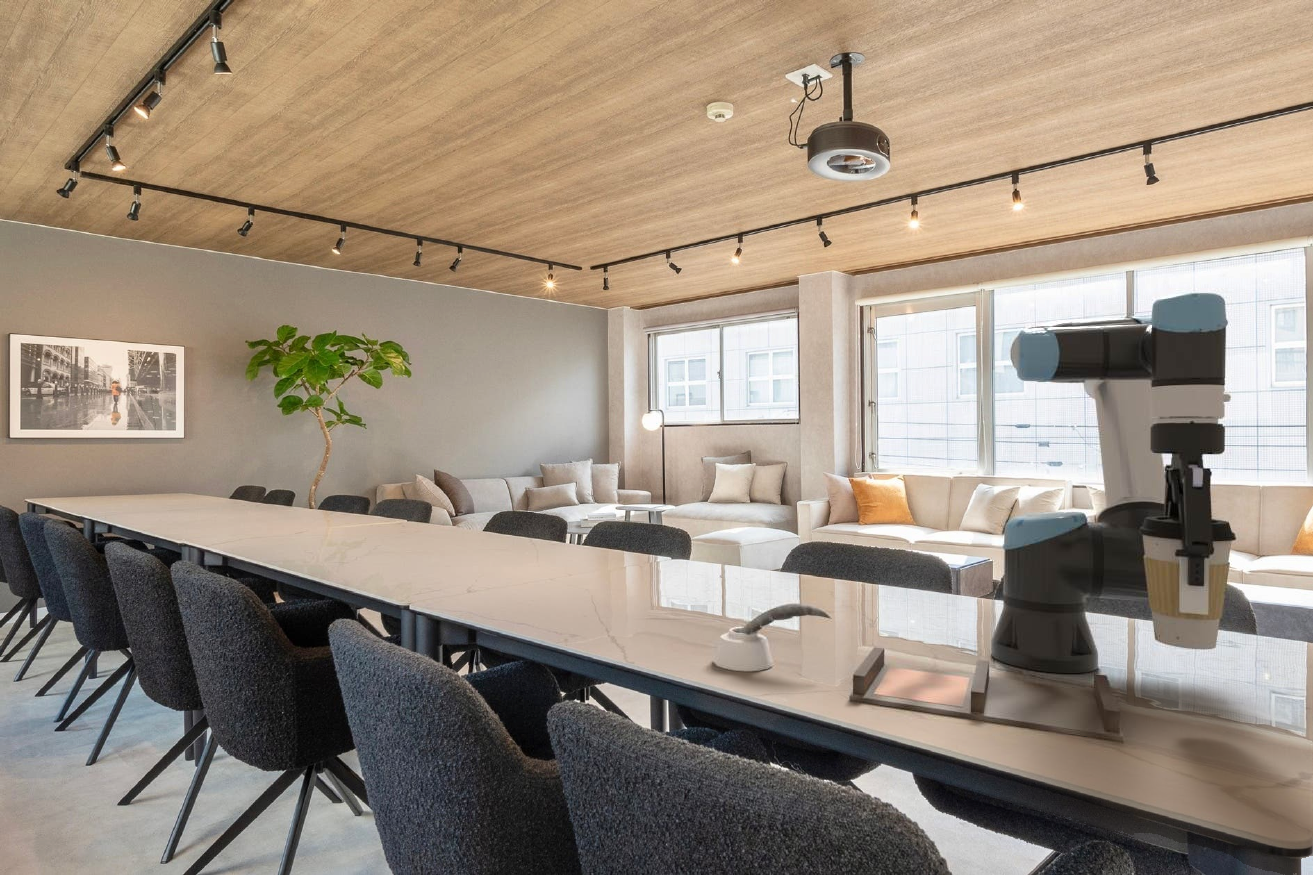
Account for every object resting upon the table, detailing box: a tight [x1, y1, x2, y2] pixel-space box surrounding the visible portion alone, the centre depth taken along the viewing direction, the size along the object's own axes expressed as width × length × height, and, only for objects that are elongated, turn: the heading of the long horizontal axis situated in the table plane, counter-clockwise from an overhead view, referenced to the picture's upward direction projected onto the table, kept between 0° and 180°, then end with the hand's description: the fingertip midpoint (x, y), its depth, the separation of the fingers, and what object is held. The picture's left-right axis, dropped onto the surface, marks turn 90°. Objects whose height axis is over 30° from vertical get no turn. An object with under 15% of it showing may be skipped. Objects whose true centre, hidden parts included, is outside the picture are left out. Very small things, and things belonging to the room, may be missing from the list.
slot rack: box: [848, 646, 1124, 743], centre depth 103 cm, size 31×18×3 cm, turn 65°
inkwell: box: [712, 603, 832, 673], centre depth 117 cm, size 9×18×10 cm, turn 69°
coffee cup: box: [1139, 516, 1237, 650], centre depth 94 cm, size 10×10×15 cm
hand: (1185, 604), depth 94 cm, fingers closed on coffee cup, 10 cm apart
